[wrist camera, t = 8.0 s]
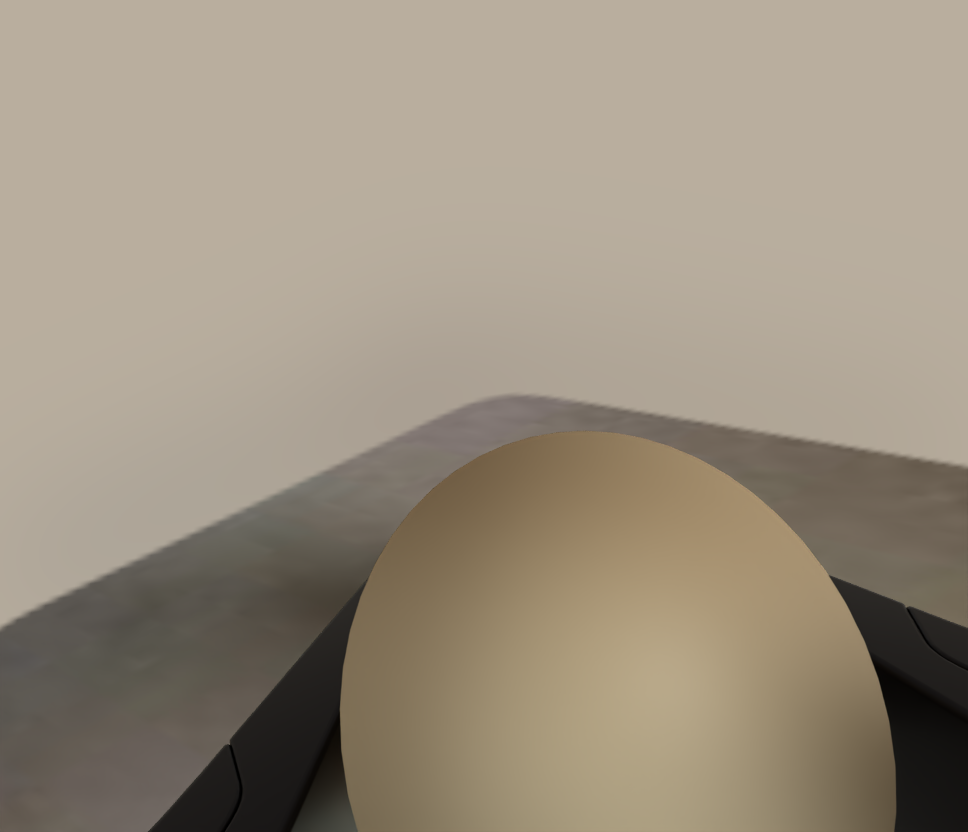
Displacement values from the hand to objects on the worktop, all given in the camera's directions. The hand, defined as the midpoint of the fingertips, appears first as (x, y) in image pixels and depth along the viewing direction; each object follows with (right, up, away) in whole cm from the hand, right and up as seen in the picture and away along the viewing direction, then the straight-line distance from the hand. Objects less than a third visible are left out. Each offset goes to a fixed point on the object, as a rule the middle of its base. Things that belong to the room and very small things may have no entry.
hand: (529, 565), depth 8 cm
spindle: (0, -5, +7) cm, 9 cm away
